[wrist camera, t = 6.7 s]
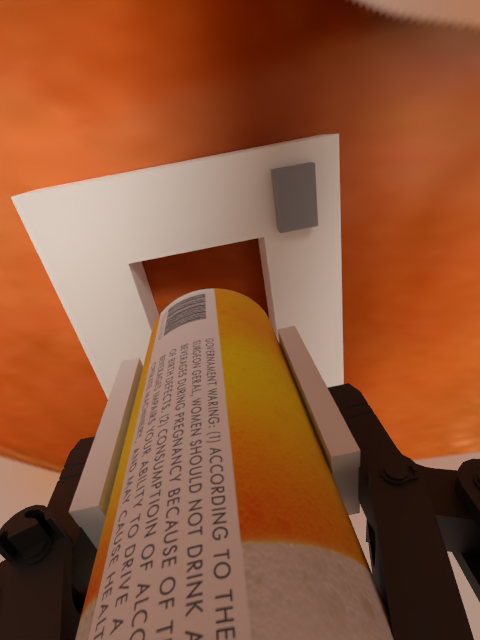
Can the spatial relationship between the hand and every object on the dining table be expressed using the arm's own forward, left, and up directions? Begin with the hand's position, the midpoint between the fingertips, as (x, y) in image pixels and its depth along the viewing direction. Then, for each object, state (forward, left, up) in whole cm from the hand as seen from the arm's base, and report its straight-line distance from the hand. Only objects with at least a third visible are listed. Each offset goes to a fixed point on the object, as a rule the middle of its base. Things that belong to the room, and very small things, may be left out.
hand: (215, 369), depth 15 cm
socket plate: (0, 0, -9) cm, 9 cm away
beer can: (0, 0, -3) cm, 3 cm away
